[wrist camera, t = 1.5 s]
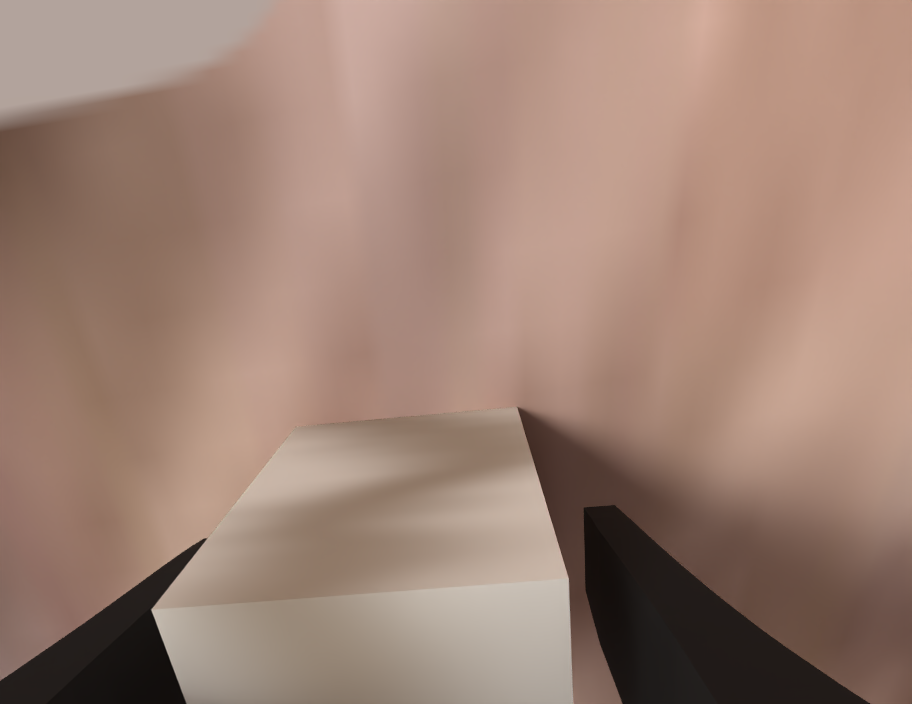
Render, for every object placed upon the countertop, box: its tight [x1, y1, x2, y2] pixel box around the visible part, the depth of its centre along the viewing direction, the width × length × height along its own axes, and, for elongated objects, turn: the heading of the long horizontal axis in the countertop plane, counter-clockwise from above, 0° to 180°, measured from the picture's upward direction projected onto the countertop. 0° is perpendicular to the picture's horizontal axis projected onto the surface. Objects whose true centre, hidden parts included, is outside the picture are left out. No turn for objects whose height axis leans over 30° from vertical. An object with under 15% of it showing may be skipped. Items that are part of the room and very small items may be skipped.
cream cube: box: [152, 407, 573, 704], centre depth 8 cm, size 5×5×5 cm
